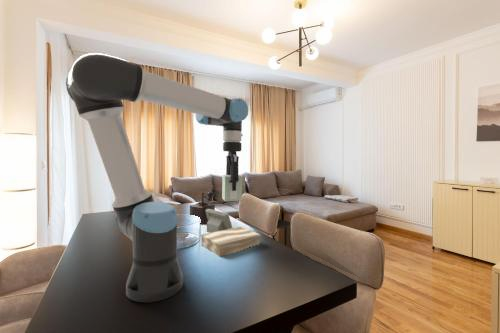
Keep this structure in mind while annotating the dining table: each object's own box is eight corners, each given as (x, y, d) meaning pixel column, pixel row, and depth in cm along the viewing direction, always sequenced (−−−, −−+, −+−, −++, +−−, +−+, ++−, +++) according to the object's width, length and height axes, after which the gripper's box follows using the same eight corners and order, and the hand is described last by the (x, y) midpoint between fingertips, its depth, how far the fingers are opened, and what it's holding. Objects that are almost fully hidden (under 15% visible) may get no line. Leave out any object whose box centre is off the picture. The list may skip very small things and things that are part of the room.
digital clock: (234, 234, 120) (235, 212, 119) (218, 238, 114) (218, 215, 114) (217, 226, 133) (218, 206, 132) (202, 229, 127) (202, 208, 127)
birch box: (260, 246, 106) (260, 234, 106) (219, 258, 93) (219, 244, 93) (239, 237, 117) (239, 226, 117) (200, 246, 104) (200, 234, 104)
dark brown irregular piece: (188, 222, 139) (188, 190, 138) (200, 218, 149) (201, 188, 148) (210, 226, 132) (211, 192, 131) (222, 221, 142) (222, 190, 141)
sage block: (241, 200, 102) (242, 176, 101) (224, 201, 100) (225, 176, 99) (238, 197, 108) (238, 174, 108) (222, 198, 107) (222, 175, 106)
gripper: (247, 140, 94) (246, 201, 95) (236, 143, 114) (235, 193, 115) (227, 140, 92) (226, 201, 93) (219, 142, 112) (219, 193, 113)
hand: (231, 196), depth 104 cm, fingers closed on sage block, 7 cm apart
